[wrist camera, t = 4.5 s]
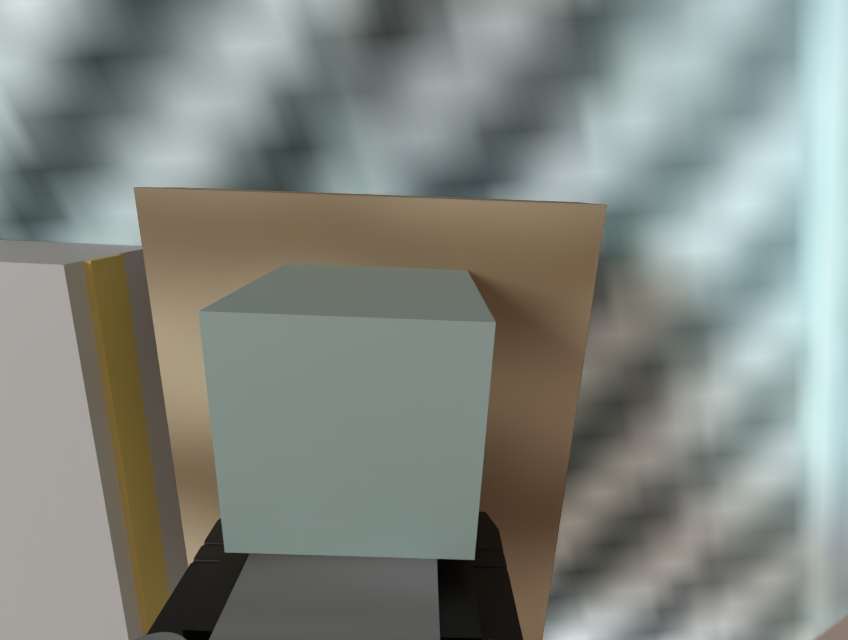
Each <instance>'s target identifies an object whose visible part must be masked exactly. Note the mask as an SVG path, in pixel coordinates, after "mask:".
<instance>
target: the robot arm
mask: <svg viewBox="0 0 848 640" xmlns="http://www.w3.org/2000/svg"><path fill="white" fill-rule="evenodd" d="M249 554H250V553H226V552H225V551H224V542H223V532H222V523H221V518H220V519H219V520H218V521H217V522H216V523H215V525H214V526H213V528H212V530H211V531H210V533H209V535H208V536H207V538H206V539H205V541H204V545H202V546H201V547H200V549H199V551H198V552H197V554H196V555H195V557H194V561H193V563H191V564H190V565H189V567H188V568H187V570H186V572H185V573H184V575H183V576H182V578H181V580H180V581H179V583H178V584H177V586H176V588H175V589H174V591H173V593H172V594H171V596H170V597H169V599H168V601H167V602H166V604H165V605H164V607H163V609H162V610H161V612H160V614H159V615H158V617H157V618H156V620H155V622H154V623H153V625H152V626H151V628H150V630H149V631H148V633H147V634H146V635H145V636H142V637H140V638H137V639H135V640H209V638H210V636H211V634H212V632H213V630H214V628H215V626H216V624H217V622H218V619H219V617H220V615H221V613H222V611H223V609H224V607H225V605H226V603H227V600H228V598H229V596H230V594H231V592H232V590H233V588H234V586H235V584H236V581H237V579H238V577H239V575H240V573H241V571H242V569H243V567H244V565H245V562H246V560H247V558H248V556H249ZM437 573H438V599H439V625H440V640H523V636H522V632H521V627H520V623H519V618H518V614H517V609H516V605H515V600H514V596H513V591H512V587H511V582H510V578H509V573H508V572H507V564H506V560H505V555H504V554H503V546H502V542H501V537H500V533H499V529H498V528H497V526H496V525H495V524H494V522H493V521H492V520H491V518H490V517H489V516H488V514H487V513H486V512H479V515H478V526H477V538H476V549H475V560H459V559H437Z"/></svg>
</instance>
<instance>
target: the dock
mask: <svg viewBox="0 0 848 640" xmlns="http://www.w3.org/2000/svg"><path fill="white" fill-rule="evenodd" d="M187 568H188V561H187V554H186V547H185V540H184V533H183V526H182V519H181V512H180V506H179V499H178V492H177V485H176V478H175V471H174V464H173V457H172V450H171V443H170V436H169V429H168V422H167V415H166V408H165V401H164V394H163V387H162V380H161V374H160V367H159V360H158V353H157V346H156V339H155V332H154V325H153V318H152V311H151V304H150V297H149V290H148V283H147V276H146V269H145V262H144V255H143V248H142V246H123V245H102V244H80V243H59V242H37V241H15V240H0V640H135V639H137V638H140V637H142V636H145V635H146V634H147V633H148V631H149V630H150V628H151V626H152V625H153V623H154V622H155V620H156V618H157V617H158V615H159V614H160V612H161V610H162V609H163V607H164V605H165V604H166V602H167V601H168V599H169V597H170V596H171V594H172V593H173V591H174V589H175V588H176V586H177V584H178V583H179V581H180V580H181V578H182V576H183V575H184V573H185V572H186V570H187Z"/></svg>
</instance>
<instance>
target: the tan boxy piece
mask: <svg viewBox="0 0 848 640" xmlns="http://www.w3.org/2000/svg"><path fill="white" fill-rule="evenodd" d="M134 193H135V200H136V207H137V214H138V221H139V228H140V235H141V242H142V248H143V255H144V262H145V269H146V276H147V283H148V290H149V297H150V304H151V311H152V318H153V325H154V332H155V339H156V346H157V353H158V360H159V367H160V374H161V380H162V387H163V394H164V401H165V408H166V415H167V422H168V429H169V436H170V443H171V450H172V457H173V464H174V471H175V478H176V485H177V492H178V499H179V506H180V512H181V519H182V526H183V533H184V540H185V547H186V554H187V561H188V567H189V565H190V564H191V563H193V561H194V557H195V555H196V554H197V552H198V551H199V549H200V547H201V546H202V545H204V541H205V539H206V538H207V536H208V535H209V533H210V531H211V530H212V528H213V526H214V525H215V523H216V522H217V521H218V520H219V519H220V518H221V514H220V505H219V496H218V486H217V477H216V468H215V459H214V450H213V440H212V431H211V422H210V413H209V403H208V394H207V385H206V376H205V367H204V357H203V348H202V339H201V330H200V321H199V311H200V310H202V309H203V308H205V307H207V306H209V305H211V304H213V303H214V302H216V301H218V300H220V299H222V298H223V297H225V296H227V295H229V294H231V293H233V292H234V291H236V290H238V289H240V288H242V287H244V286H245V285H247V284H249V283H251V282H253V281H255V280H256V279H258V278H260V277H262V276H264V275H265V274H267V273H269V272H271V271H273V270H275V269H276V268H278V267H280V266H282V265H284V264H286V263H298V264H323V265H349V266H375V267H400V268H426V269H452V270H468V272H469V274H470V276H471V278H472V280H473V281H474V283H475V285H476V287H477V289H478V291H479V292H480V294H481V296H482V298H483V300H484V302H485V303H486V305H487V307H488V309H489V311H490V313H491V314H492V316H493V318H494V320H495V322H496V325H495V337H494V348H493V359H492V370H491V381H490V392H489V404H488V415H487V426H486V437H485V448H484V459H483V471H482V482H481V493H480V504H479V512H486V513H487V514H488V516H489V517H490V518H491V520H492V521H493V522H494V524H495V525H496V526H497V528H498V529H499V533H500V537H501V542H502V546H503V554H504V555H505V560H506V564H507V572H508V573H509V578H510V582H511V587H512V591H513V596H514V600H515V605H516V609H517V614H518V618H519V623H520V627H521V632H522V636H523V640H542V639H543V632H544V625H545V619H546V612H547V605H548V598H549V592H550V585H551V578H552V571H553V565H554V558H555V551H556V544H557V538H558V531H559V524H560V517H561V511H562V504H563V497H564V490H565V484H566V477H567V470H568V463H569V457H570V450H571V443H572V436H573V430H574V423H575V416H576V409H577V403H578V396H579V389H580V382H581V376H582V369H583V362H584V355H585V349H586V342H587V335H588V329H589V322H590V315H591V308H592V302H593V295H594V288H595V281H596V275H597V268H598V261H599V254H600V248H601V241H602V234H603V227H604V221H605V214H606V207H607V205H601V204H590V203H579V202H557V201H530V200H503V199H476V198H449V197H422V196H395V195H369V194H342V193H315V192H288V191H261V190H234V189H207V188H149V187H134ZM209 640H440V625H439V599H438V573H437V559H425V558H392V557H359V556H326V555H292V554H259V553H250V554H249V556H248V558H247V560H246V562H245V565H244V567H243V569H242V571H241V573H240V575H239V577H238V579H237V581H236V584H235V586H234V588H233V590H232V592H231V594H230V596H229V598H228V600H227V603H226V605H225V607H224V609H223V611H222V613H221V615H220V617H219V619H218V622H217V624H216V626H215V628H214V630H213V632H212V634H211V636H210V638H209Z"/></svg>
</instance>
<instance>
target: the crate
mask: <svg viewBox="0 0 848 640" xmlns="http://www.w3.org/2000/svg"><path fill="white" fill-rule="evenodd" d="M199 321H200V330H201V339H202V348H203V357H204V367H205V376H206V385H207V394H208V403H209V413H210V422H211V431H212V440H213V450H214V459H215V468H216V477H217V486H218V496H219V505H220V514H221V523H222V532H223V542H224V551H225V552H226V553H259V554H292V555H326V556H359V557H392V558H425V559H459V560H475V549H476V538H477V526H478V515H479V504H480V493H481V482H482V471H483V459H484V448H485V437H486V426H487V415H488V404H489V392H490V381H491V370H492V359H493V348H494V337H495V325H496V322H495V320H494V318H493V316H492V314H491V313H490V311H489V309H488V307H487V305H486V303H485V302H484V300H483V298H482V296H481V294H480V292H479V291H478V289H477V287H476V285H475V283H474V281H473V280H472V278H471V276H470V274H469V272H468V270H452V269H426V268H400V267H375V266H349V265H323V264H298V263H286V264H284V265H282V266H280V267H278V268H276V269H275V270H273V271H271V272H269V273H267V274H265V275H264V276H262V277H260V278H258V279H256V280H255V281H253V282H251V283H249V284H247V285H245V286H244V287H242V288H240V289H238V290H236V291H234V292H233V293H231V294H229V295H227V296H225V297H223V298H222V299H220V300H218V301H216V302H214V303H213V304H211V305H209V306H207V307H205V308H203V309H202V310H200V311H199Z"/></svg>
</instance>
